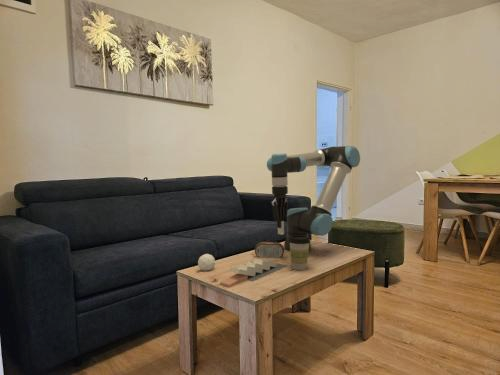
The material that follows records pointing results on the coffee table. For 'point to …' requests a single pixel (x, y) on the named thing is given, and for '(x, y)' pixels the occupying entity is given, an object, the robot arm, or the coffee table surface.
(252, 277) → the mat
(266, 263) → the domino
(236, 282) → the domino
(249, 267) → the domino
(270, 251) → the tin
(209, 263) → the geometric ball
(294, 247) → the coffee cup
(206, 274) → the coffee table surface
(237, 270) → the domino
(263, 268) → the domino
